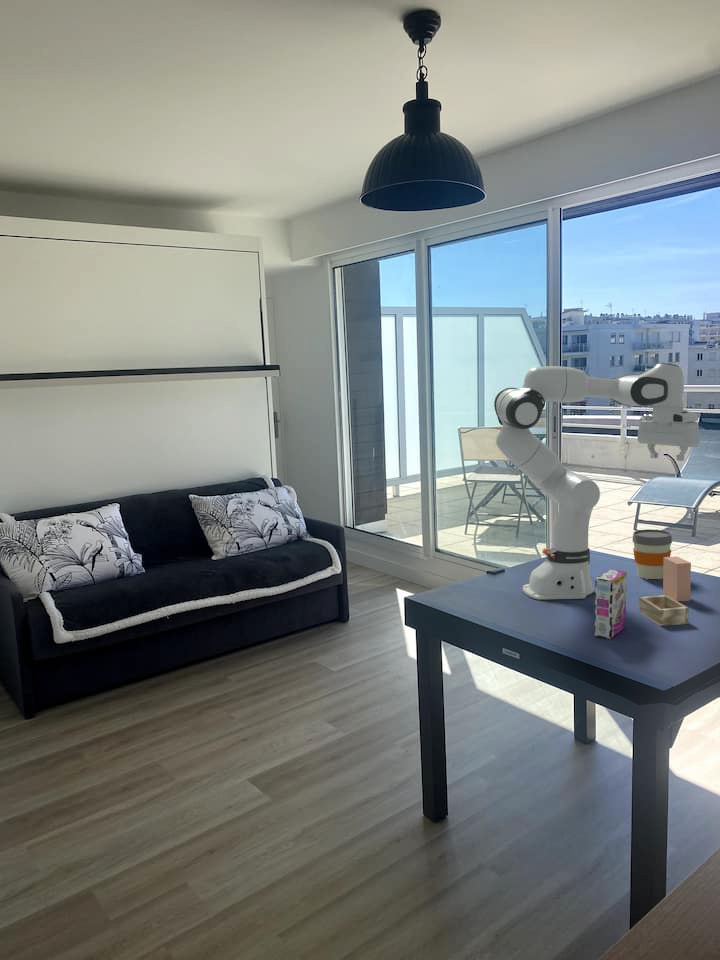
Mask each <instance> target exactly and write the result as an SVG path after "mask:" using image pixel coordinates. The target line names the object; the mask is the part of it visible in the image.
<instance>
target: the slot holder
mask: <svg viewBox="0 0 720 960" xmlns="http://www.w3.org/2000/svg"><path fill="white" fill-rule="evenodd" d="M638 599H639V601H638V607H639V608H638V612H639V613H640V614H641V615H643V617H646V618H647V619H649V620H650V621H652V622H653V623H655V624H656V625H658V626H659V627H664V626H667V627H668V626H676V625H677V626H678V625H687V624H689V623H690V622H689V621H690V620H689V619H690V618H689V616H690V615H689V613H690V608H689V607H688V606H686V605H684V604H683V603H681V602H678V601H676V600H674V599H672V598H671V597H669V596H667V595H664V594H662V595H652V596H651V595H650V596H640V597H639V598H638Z"/></svg>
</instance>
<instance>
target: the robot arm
mask: <svg viewBox="0 0 720 960" xmlns="http://www.w3.org/2000/svg"><path fill="white" fill-rule="evenodd" d="M683 372H684V371H683V369H682V367H681V366H679V365H677V364H673V363H657V364H655V366H654V367H653V368H651V369H650V370H648V371H645V372H643V373H641V374H640V375H639V374H638V375H637V374H635V375H634V374H623V375H619V376H617V377H615V378H603V377H602V378H601V377H591V376H589V375H588V374H587V373H586V372H585V370H581V369H579V368H575V367H570V366H562V365H561V366H560V365H559V366H557V365H549V366H548V365H547V366H545V365H544V366H537V367H532V368H531V369H529V370H528V371H527V373H526V375H525V376H524V380H523V384H522V386H521V387H520V388H516V387H506V388H504V389H501V390H500V391H499V392H498V393H497V395H496V396H495V398H494V403H493V407H494V411H495V414H496V417H497V420H498V423H499V425H501V426H502V427H501V429H500V430H499V432H498V433H497V435H496V439H495V440H496V441H495V443H496V446H497V448H498V450H500V451H501V453H502V454H503V455H504V456H505V457H506V458H507V459H508V461H510V462H511V463H512V465H514V466H516V468H517V469H518V470H520V471H521V472H522V473H523V474H524V475H526V477H528V478H529V479H530V480H531V481H532V482H533V483H534V484H535V485H536V486H537V487H538V488H539V489H540V490H541V491H542V493H544V495H546V496H547V498H549V500H551V501H552V502H554V503H557V504H558V505H559V509H558V513H557V518H556V520H555V521H554V522H553V524H552V547H551V549H548V548H546V547H545V548H543V549H542V551H541V552H542V554H543V555H545V556H547V558H546V560H544V561H543V562H542V563H541V564H540V565H537V566H536V568H534V569H533V570H532V571H531V572H530V577H529V583H527V584H524V585H522V592H523V593H524V594H525V595H526V596H527V597H530V598H532V599H534V600H573V599H574V600H578V599H579V600H581V599H585V598H587V596H588V595H592V593H594V592H595V589H594V586H593V583H592V580H591V571H590V563H591V552H590V548H589V525H590V521H591V516H592V512H593V510H594V507H595V506H597V504H598V503H599V500H600V496H601V490H600V487H599V486H598V484H597V483H596V482H595V481H593V480H592V478H590V477H588V476H586V475H583V474H580V473H576V472H574V471H571V469H569V468H567V467H566V466H565V465H564V464H563V463H562V461H561V459H560V458H559V456H558V455H557V454H556V452H554V451H553V450H552V449H551V448H550V447H549V446H547V445H546V444H545V443H544V442H543V441H541V440H540V439H539V438H538V437H537V436H536V435H535V434H534V433H533V432H532V431H531V430H530V429H531V428H533V427H535V425H537V424H538V423H539V421H540V419H541V417H542V412H543V410H544V408H545V406H546V403H549V402H550V403H564V404H566V403H568V404H569V403H578V402H579V403H580V402H581V401H583V400H584V399H585V398H595V399H596V398H597V399H609V400H612V402H615V403H617V404H619V405H621V406H624V407H626V406H627V407H629V406H631V407H632V406H633V407H647V406H648V407H649V406H651V405H652V414H644V415H643V416H641V417H640V418H639V421H638V422H639V425H638V431H637V442H638V444H645V445H646V446H647V449H648V451H649V453H650V458H651V459H658V458H659V457H658V456H659V452H656V449H655V447H656V445H658V446H671V447H672V446H673V447H679V450H680V451H679V453H678V454H676V458H675V459H676V460H675V461H678V462H679V461H681V462H683V461H684V460H685V455H686V453H687V452H688V448H694V447H697V446H698V445H699V444H700V437H701V435H700V434H701V433H700V426H699V424H698V421H699V415H698V414H696V413H694V412H691V411H689V410H686V409H684V403H683V396H684V391H685V390H684V387H685V386H684V385H685V384H684V383H685V382H684V379H685V378H684V374H683Z"/></svg>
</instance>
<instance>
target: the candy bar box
mask: <svg viewBox="0 0 720 960" xmlns="http://www.w3.org/2000/svg"><path fill="white" fill-rule="evenodd" d="M594 579H595V580H594V583H595V584H594V586H595V589H594V592H595V593H594V595H595V596H594V637H598V638H603V639H607V640H612V639H613V638H614V637H616V636H617V635H618V634H619V633H620V632H622V631H623V630H624V629H625V628H626V619H627V618H626V615H627V612H626V611H627V610H626V607H627V606H626V605H627V601H626V600H627V571H623V570H616V569H609V570H607V571H605V572H604V573H603V574H600V575H599V576H598V577H596V578H594Z"/></svg>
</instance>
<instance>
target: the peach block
mask: <svg viewBox="0 0 720 960" xmlns="http://www.w3.org/2000/svg"><path fill="white" fill-rule="evenodd" d="M691 568H692V562H690V561H688V560H686V559H683V558H682V557H680V556H677V555H676V556H670V557H664V562H663V579H662V581H663V582H662V585H663V586H662V595H667V596H669V597H671V598H672V599H674V600H676V601H683V602H690V601H691V587H692V586H691V583H692V582H691V581H692V580H691V578H692V575H691V574H692V572H691V571H692V569H691ZM689 600H690V601H689Z"/></svg>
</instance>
